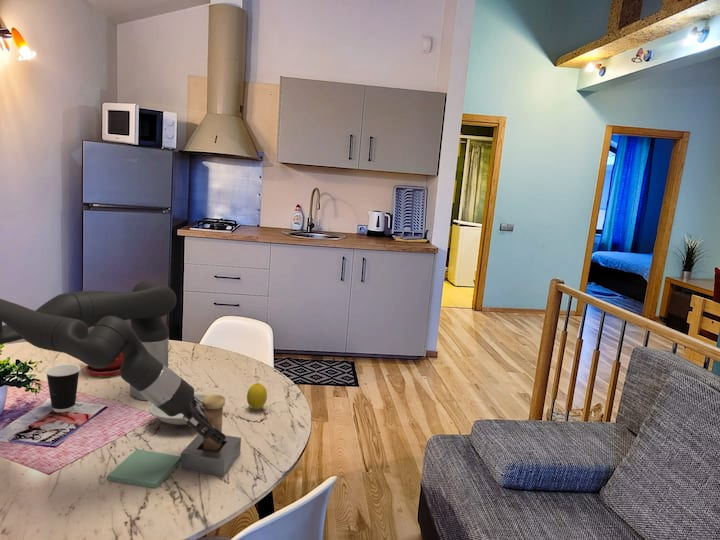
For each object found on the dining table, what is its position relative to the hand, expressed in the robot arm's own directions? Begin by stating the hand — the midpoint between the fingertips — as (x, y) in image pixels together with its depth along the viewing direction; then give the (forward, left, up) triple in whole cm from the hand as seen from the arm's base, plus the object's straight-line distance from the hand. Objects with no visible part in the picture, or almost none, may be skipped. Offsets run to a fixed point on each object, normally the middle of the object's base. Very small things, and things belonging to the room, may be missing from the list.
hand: (218, 431), depth 115 cm
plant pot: (-53, +38, -7) cm, 66 cm away
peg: (-1, -1, -7) cm, 7 cm away
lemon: (0, +27, -7) cm, 28 cm away
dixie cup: (-48, +12, -7) cm, 50 cm away
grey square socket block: (-1, -1, -7) cm, 7 cm away
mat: (-13, -8, -7) cm, 17 cm away
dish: (-15, +14, -7) cm, 22 cm away
